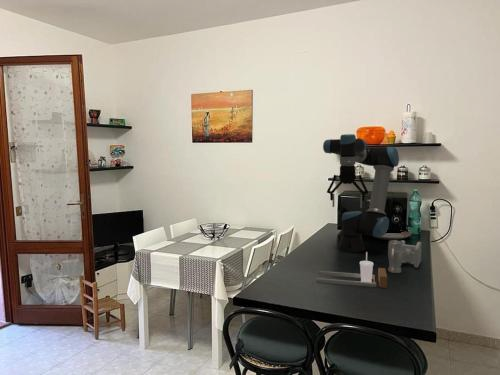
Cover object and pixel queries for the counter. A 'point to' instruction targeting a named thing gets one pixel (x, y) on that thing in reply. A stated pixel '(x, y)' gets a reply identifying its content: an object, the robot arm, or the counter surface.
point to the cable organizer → (411, 254)
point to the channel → (381, 277)
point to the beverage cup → (366, 270)
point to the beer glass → (395, 256)
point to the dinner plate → (394, 236)
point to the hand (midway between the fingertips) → (347, 207)
